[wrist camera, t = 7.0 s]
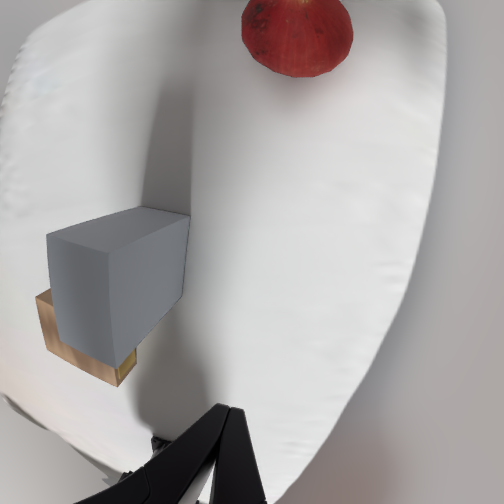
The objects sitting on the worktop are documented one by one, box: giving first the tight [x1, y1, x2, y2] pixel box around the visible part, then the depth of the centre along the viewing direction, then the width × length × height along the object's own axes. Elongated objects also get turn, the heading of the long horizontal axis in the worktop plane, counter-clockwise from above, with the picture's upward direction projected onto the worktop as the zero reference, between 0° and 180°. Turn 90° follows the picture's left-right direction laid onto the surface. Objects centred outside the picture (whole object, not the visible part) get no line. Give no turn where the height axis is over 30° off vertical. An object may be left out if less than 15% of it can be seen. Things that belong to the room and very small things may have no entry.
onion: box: [242, 0, 353, 77], centre depth 10 cm, size 6×6×8 cm
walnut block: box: [35, 288, 137, 387], centre depth 21 cm, size 6×4×9 cm
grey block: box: [46, 206, 190, 369], centre depth 15 cm, size 6×4×9 cm, turn 170°
